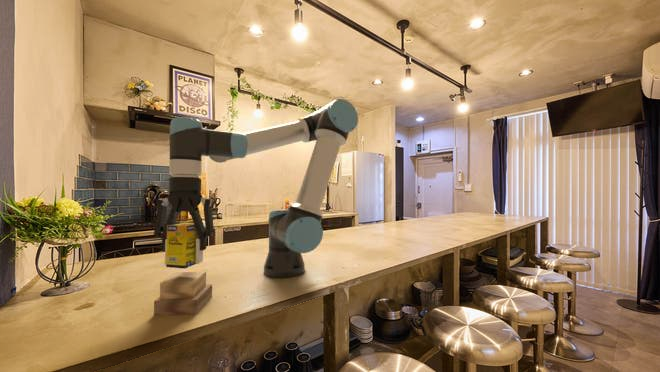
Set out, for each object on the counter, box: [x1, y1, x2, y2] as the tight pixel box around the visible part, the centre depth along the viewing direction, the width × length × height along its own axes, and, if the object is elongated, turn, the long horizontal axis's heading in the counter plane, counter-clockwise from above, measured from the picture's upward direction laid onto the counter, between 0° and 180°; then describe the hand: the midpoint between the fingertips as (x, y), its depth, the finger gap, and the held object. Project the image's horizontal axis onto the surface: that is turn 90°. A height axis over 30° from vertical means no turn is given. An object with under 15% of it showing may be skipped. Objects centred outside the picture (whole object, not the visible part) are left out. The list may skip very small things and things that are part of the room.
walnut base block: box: [153, 283, 213, 317], centre depth 67 cm, size 10×10×4 cm
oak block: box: [159, 271, 207, 299], centre depth 67 cm, size 8×8×4 cm
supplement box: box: [165, 222, 199, 270], centre depth 67 cm, size 6×6×11 cm
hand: (184, 262), depth 67 cm, fingers closed on supplement box, 7 cm apart
